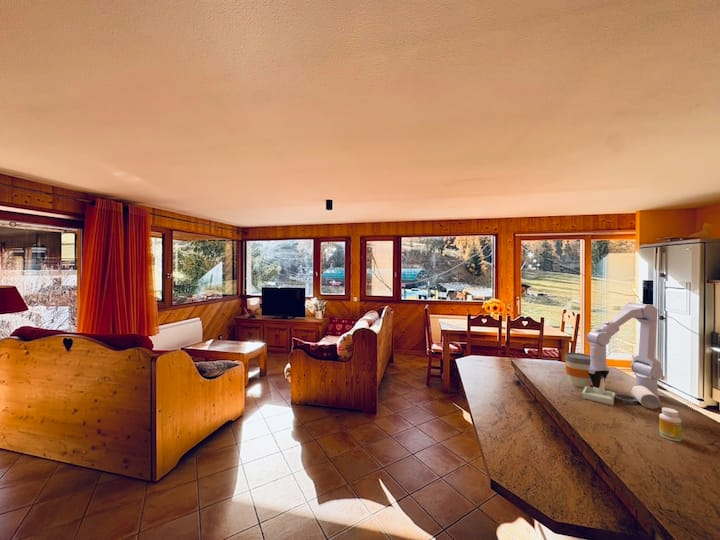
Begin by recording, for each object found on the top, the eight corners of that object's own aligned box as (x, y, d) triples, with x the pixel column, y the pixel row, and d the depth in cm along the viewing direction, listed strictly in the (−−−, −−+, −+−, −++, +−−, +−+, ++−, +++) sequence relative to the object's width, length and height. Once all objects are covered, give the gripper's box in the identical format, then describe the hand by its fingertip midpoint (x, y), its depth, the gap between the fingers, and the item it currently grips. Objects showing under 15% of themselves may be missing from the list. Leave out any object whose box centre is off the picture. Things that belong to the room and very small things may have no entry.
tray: (585, 391, 143) (585, 386, 143) (615, 397, 135) (614, 392, 135) (581, 398, 135) (581, 392, 135) (613, 405, 127) (613, 400, 127)
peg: (591, 390, 136) (590, 374, 136) (598, 389, 137) (598, 373, 137) (599, 394, 132) (598, 377, 132) (606, 393, 133) (606, 376, 133)
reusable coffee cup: (592, 382, 153) (592, 354, 153) (596, 391, 142) (596, 360, 142) (564, 378, 160) (563, 351, 160) (565, 385, 149) (565, 356, 149)
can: (663, 407, 122) (651, 396, 133) (656, 392, 123) (644, 382, 134) (644, 410, 125) (634, 399, 135) (637, 395, 126) (627, 385, 136)
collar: (613, 394, 138) (613, 391, 138) (638, 400, 132) (637, 396, 132) (612, 400, 132) (612, 397, 132) (637, 406, 126) (637, 402, 126)
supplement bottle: (678, 443, 99) (677, 415, 99) (656, 435, 104) (656, 408, 104) (684, 438, 102) (683, 411, 102) (662, 431, 107) (662, 405, 107)
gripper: (601, 362, 128) (601, 392, 128) (615, 357, 135) (615, 385, 135) (583, 357, 134) (583, 387, 134) (597, 353, 141) (597, 381, 141)
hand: (598, 386), depth 135 cm, fingers closed on peg, 4 cm apart
